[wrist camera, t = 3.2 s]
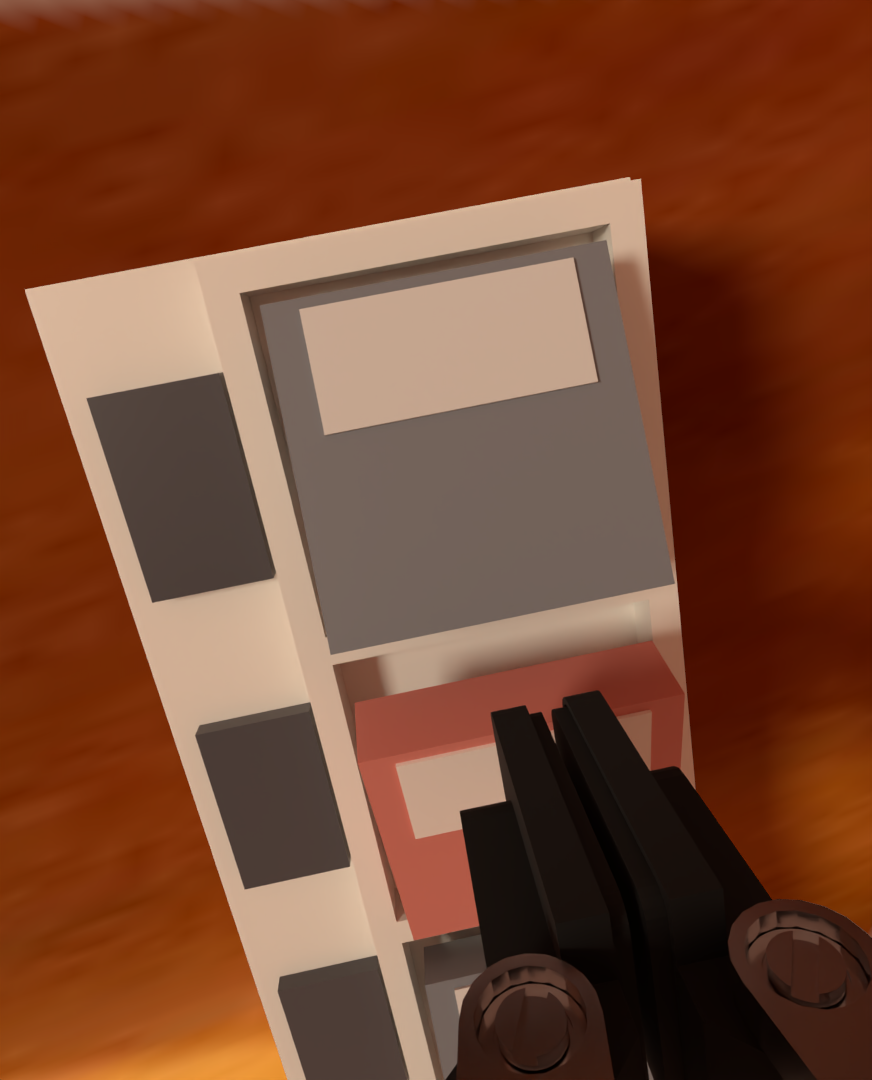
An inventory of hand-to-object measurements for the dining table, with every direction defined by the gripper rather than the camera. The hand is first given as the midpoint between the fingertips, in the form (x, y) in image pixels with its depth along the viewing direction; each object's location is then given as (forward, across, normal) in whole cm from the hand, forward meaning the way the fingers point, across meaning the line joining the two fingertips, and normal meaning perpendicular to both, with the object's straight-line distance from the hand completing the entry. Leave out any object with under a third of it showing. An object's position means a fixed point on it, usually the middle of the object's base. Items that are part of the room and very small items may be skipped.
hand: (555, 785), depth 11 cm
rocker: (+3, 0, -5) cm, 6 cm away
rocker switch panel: (+10, +2, +2) cm, 10 cm away
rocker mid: (+3, 0, +2) cm, 3 cm away
